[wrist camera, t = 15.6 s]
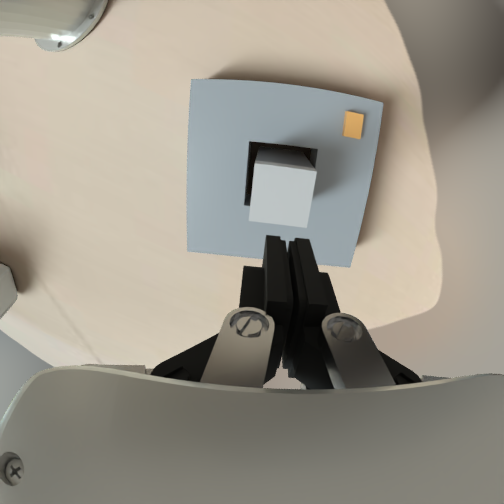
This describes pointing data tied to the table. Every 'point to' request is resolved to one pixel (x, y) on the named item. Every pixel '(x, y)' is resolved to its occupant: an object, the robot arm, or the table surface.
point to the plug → (282, 187)
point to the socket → (287, 133)
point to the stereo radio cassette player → (6, 290)
